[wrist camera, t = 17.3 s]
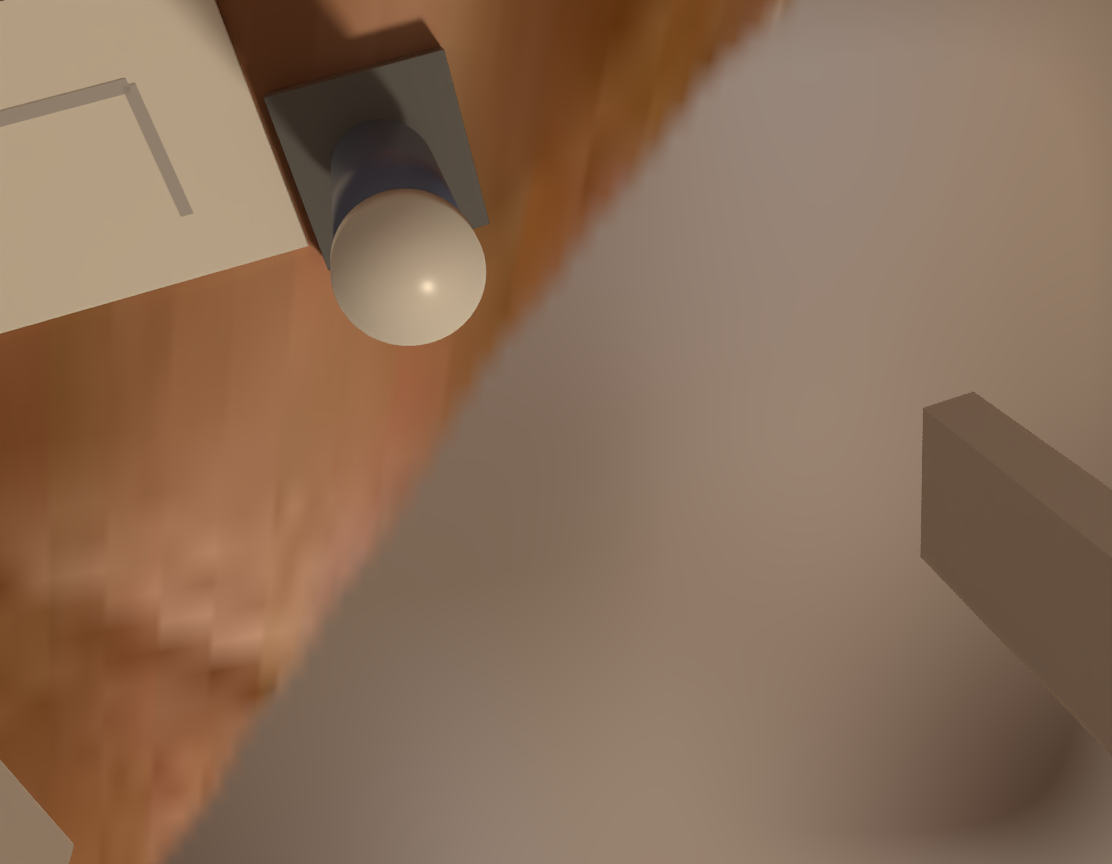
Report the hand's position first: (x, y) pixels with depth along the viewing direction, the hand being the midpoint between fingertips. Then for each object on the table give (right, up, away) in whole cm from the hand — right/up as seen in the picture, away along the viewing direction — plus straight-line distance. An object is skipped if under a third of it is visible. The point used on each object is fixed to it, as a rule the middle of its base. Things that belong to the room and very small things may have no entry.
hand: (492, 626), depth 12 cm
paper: (-18, +13, +21) cm, 31 cm away
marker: (-6, +13, +23) cm, 27 cm away
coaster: (-6, +14, +24) cm, 28 cm away
